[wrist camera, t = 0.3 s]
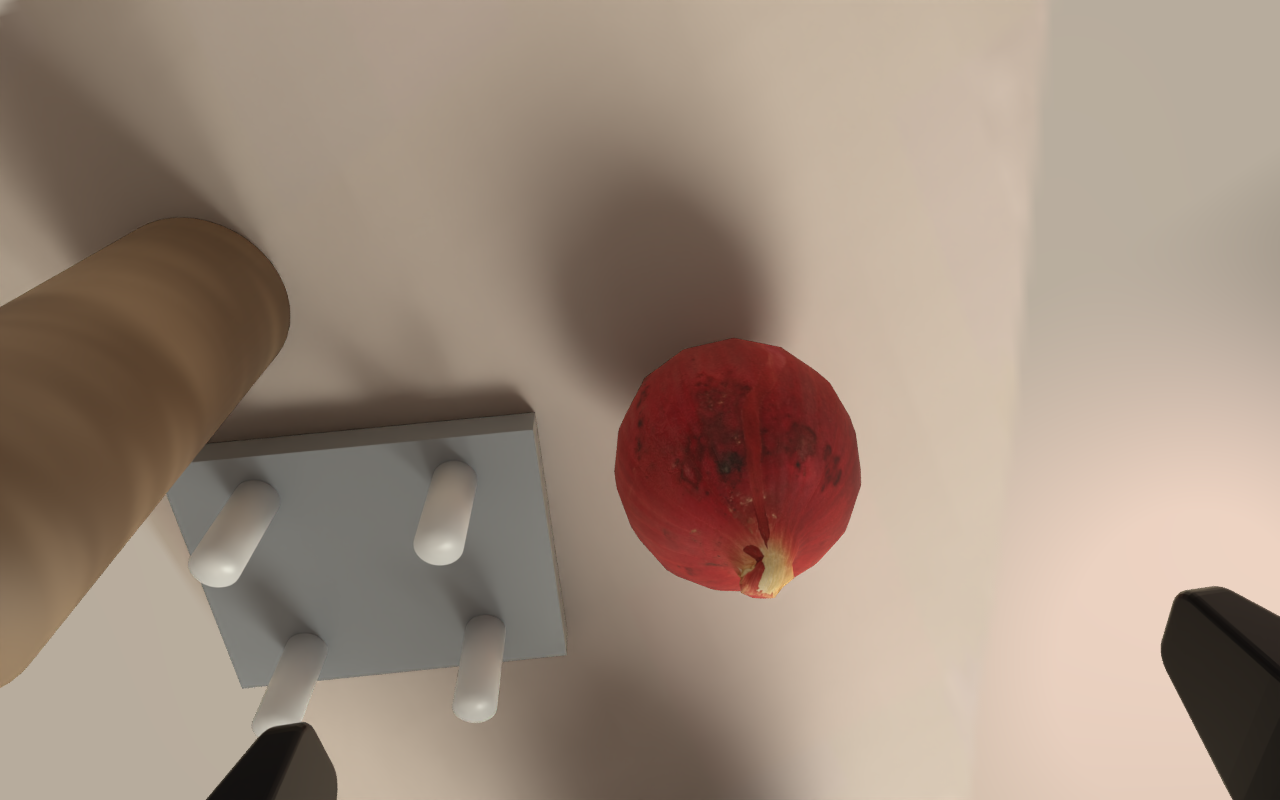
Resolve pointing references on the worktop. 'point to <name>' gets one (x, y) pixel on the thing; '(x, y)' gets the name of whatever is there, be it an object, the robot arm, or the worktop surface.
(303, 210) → the worktop surface
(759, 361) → the pomegranate
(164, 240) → the pepper mill
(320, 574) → the pin tray
